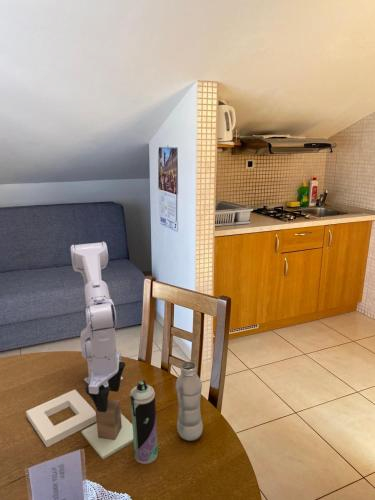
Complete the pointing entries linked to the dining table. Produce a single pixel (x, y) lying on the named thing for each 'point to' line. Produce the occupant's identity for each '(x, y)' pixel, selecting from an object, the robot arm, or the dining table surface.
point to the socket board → (67, 427)
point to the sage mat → (107, 445)
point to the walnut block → (109, 421)
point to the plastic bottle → (189, 402)
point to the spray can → (144, 423)
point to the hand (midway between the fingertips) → (108, 400)
